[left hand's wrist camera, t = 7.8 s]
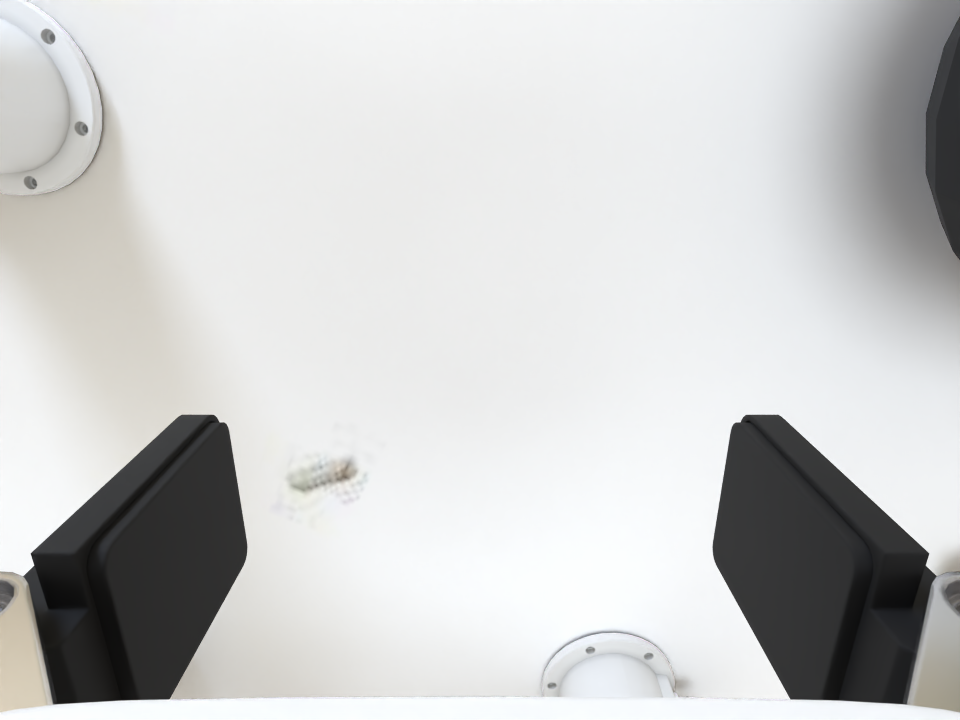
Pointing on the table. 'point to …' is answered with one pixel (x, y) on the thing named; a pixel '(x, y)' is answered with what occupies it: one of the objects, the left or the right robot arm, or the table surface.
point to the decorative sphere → (946, 140)
